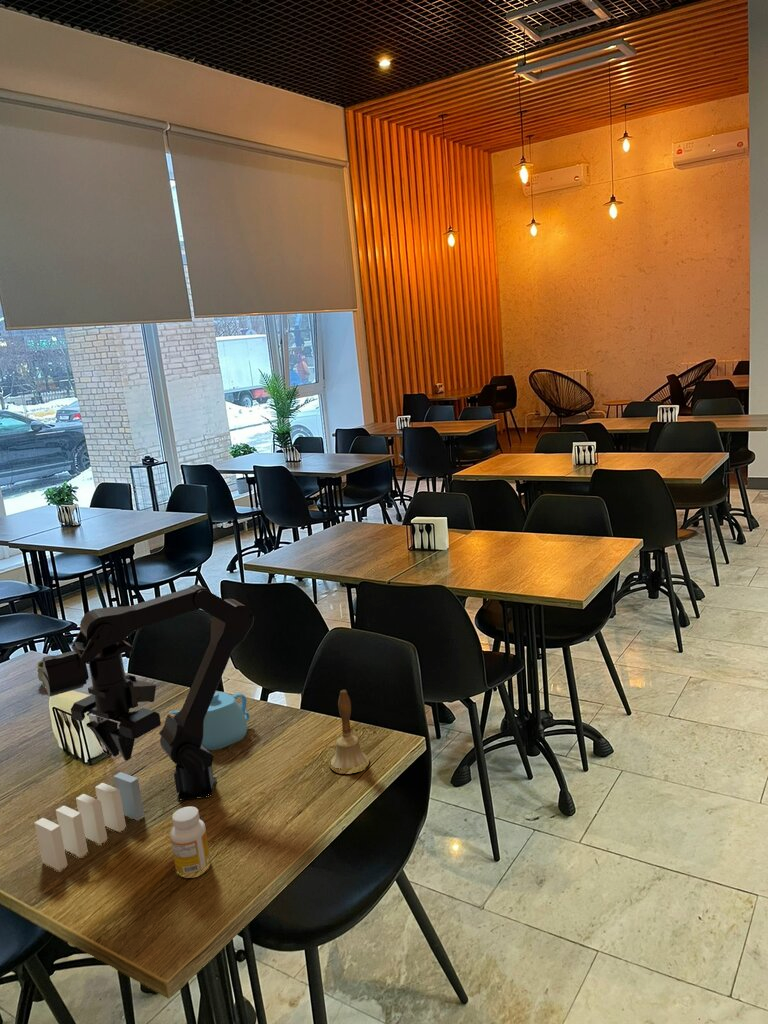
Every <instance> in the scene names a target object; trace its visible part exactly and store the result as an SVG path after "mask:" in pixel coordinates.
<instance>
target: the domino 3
mask: <svg viewBox="0 0 768 1024" xmlns="http://www.w3.org/2000/svg"><path fill="white" fill-rule="evenodd" d="M75 801H76V802H75V803H76V807H77V811H78V812H80V813H81V817H82V822H83V828H84V833H85V837H86V838H88V839H90V840H92V841H95V842H97V843H99V844H100V843H102V842H103V841H105V840H107V839H108V834H107V828H105V822H104V817H103V811H102V806H101V801H100V800H97V798H94V797H93V796H90V795H88V794H85V793H82V794H80V795H79V796H77V797H76V798H75Z"/></svg>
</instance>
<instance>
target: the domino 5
mask: <svg viewBox="0 0 768 1024" xmlns="http://www.w3.org/2000/svg"><path fill="white" fill-rule="evenodd" d="M113 781H114V787H115V788H117V789H120V795H121V800H122V806H123V812H124V815H125V816H128V817H131V818H134V819H137V820H138V819H139V818H141V817H142V816H144V817H145V813H144V812H145V811H144V806H143V805H144V804H143V799H142V794H141V788H140V783H139V778H138V777H135V776H134V775H133V776H132V775H130V774H127V773H124V772H122V771H120V772H118V773H117V774H115V775H113ZM125 816H124V817H125Z"/></svg>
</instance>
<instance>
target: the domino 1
mask: <svg viewBox="0 0 768 1024" xmlns="http://www.w3.org/2000/svg"><path fill="white" fill-rule="evenodd" d="M33 823H34V829H35V833H36V839H37V844H38V848H39V853H40V858H41V863H42V862H44V863H46V864H48V865H50V866H52V867H54V868H56V869H58V870H60V869H61V868H63V867H64V866H66V865H68V860H67V856H66V852H65V849H64V844H63V839H62V834H61V829H60V825H58V823H56V822H53V821H52V820H49V819H47V818H45V817H41V818H40V819H38V820H36V821H34V822H33Z"/></svg>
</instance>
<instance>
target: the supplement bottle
mask: <svg viewBox="0 0 768 1024" xmlns="http://www.w3.org/2000/svg"><path fill="white" fill-rule="evenodd" d="M171 818H172V824H173V826H172V827H171V829H170V833H169V836H170V843H171V847H172V853H173V854H172V855H173V859H174V860H173V861H174V867H175V871H176V870H177V871H178V872H179V873H183V874H187V873H188V874H189V873H193V872H197V871H199V870H201V869H203V868H204V867H206V866H207V864H208V863H209V862H210V860H211V856H210V855H211V854H210V849H209V840H208V833H207V829H206V824H205V822H204V821H203V820H202V819H200V813H199V809H198V808H197V807H195V806H184V807H181V808H179V809H177V810H176V811H174V812H173V814H172V817H171Z"/></svg>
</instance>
